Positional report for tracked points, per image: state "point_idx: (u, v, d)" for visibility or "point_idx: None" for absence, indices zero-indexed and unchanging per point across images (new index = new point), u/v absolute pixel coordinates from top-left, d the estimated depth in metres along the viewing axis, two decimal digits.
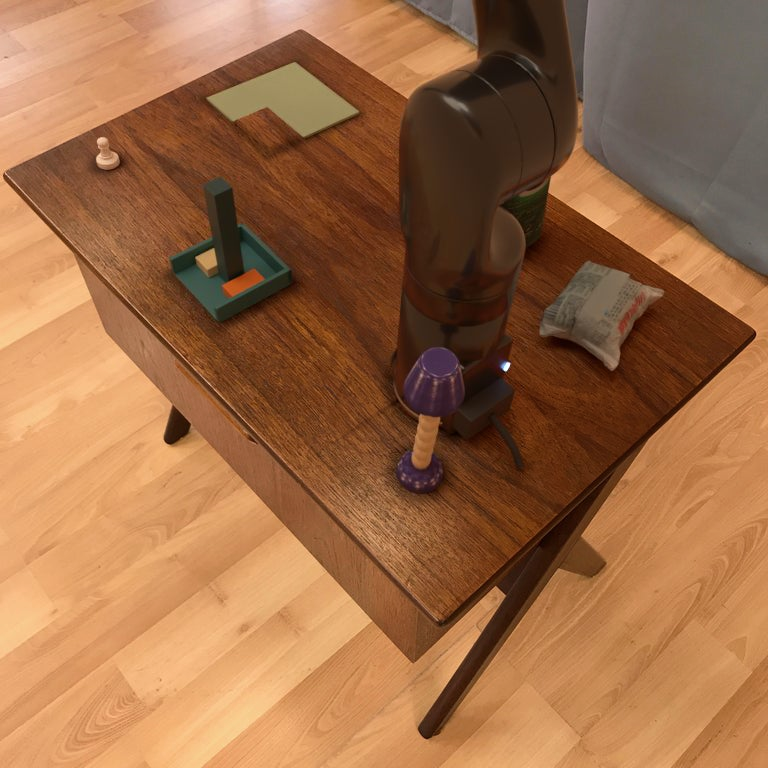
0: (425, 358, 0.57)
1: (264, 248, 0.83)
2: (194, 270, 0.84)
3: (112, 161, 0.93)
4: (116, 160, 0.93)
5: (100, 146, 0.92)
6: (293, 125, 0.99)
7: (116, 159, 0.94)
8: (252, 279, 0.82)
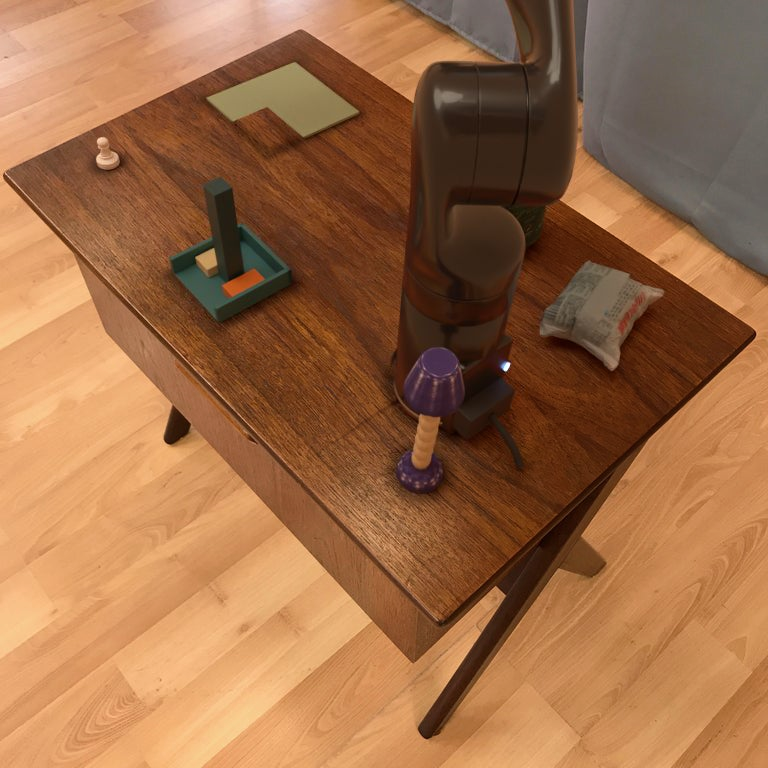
0: (425, 358, 0.57)
1: (264, 248, 0.83)
2: (194, 270, 0.84)
3: (112, 161, 0.93)
4: (116, 160, 0.93)
5: (100, 146, 0.92)
6: (293, 125, 0.99)
7: (116, 159, 0.94)
8: (252, 279, 0.82)
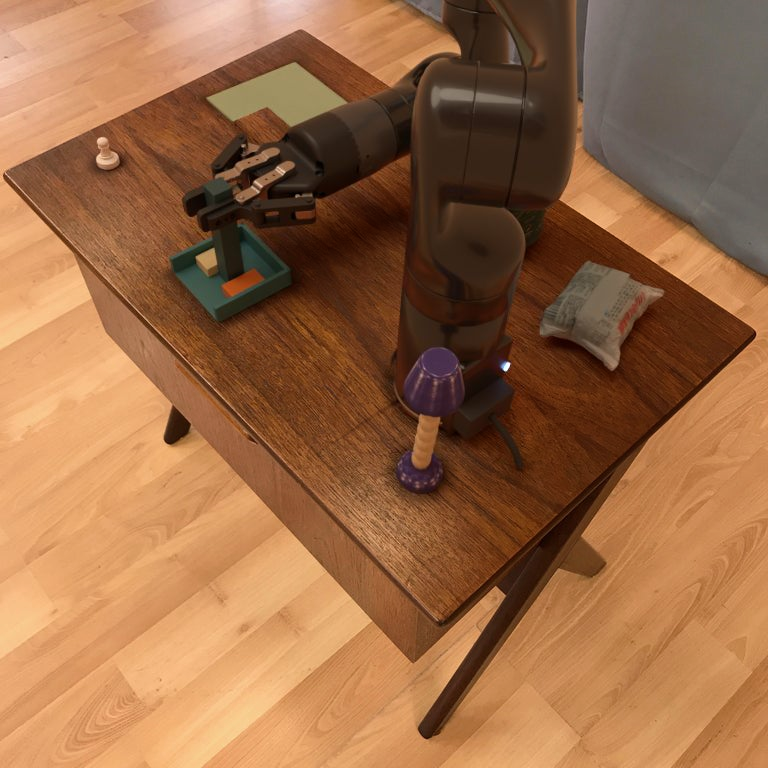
0: (425, 358, 0.57)
1: (264, 248, 0.83)
2: (194, 270, 0.84)
3: (112, 161, 0.93)
4: (116, 160, 0.93)
5: (100, 146, 0.92)
6: (293, 125, 0.99)
7: (116, 159, 0.94)
8: (252, 279, 0.82)
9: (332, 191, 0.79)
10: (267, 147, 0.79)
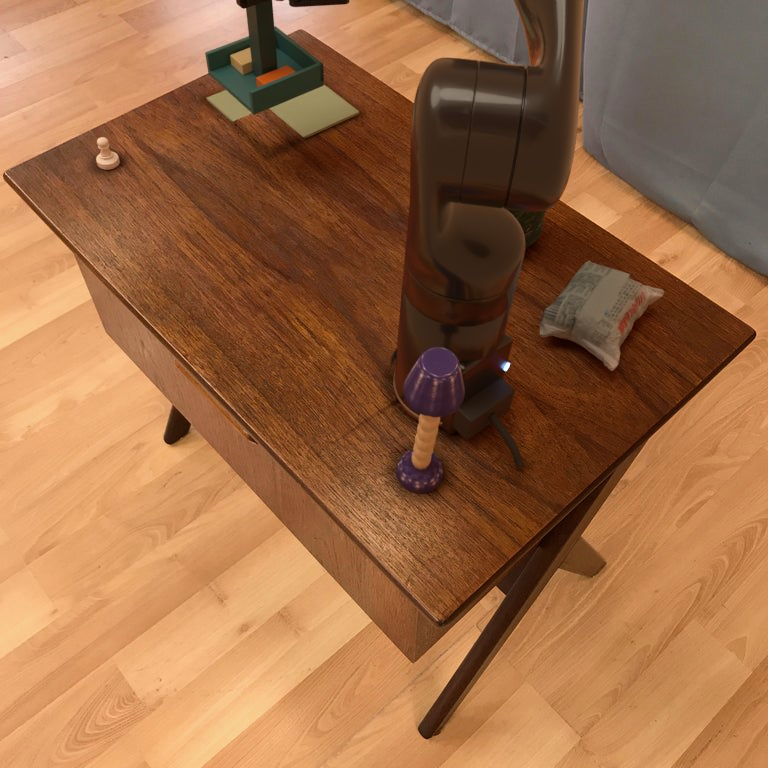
0: (425, 358, 0.57)
1: (297, 47, 0.86)
2: (229, 69, 0.86)
3: (112, 161, 0.93)
4: (116, 160, 0.93)
5: (100, 146, 0.92)
6: (293, 125, 0.99)
7: (116, 159, 0.94)
8: (285, 73, 0.84)
9: None
10: None
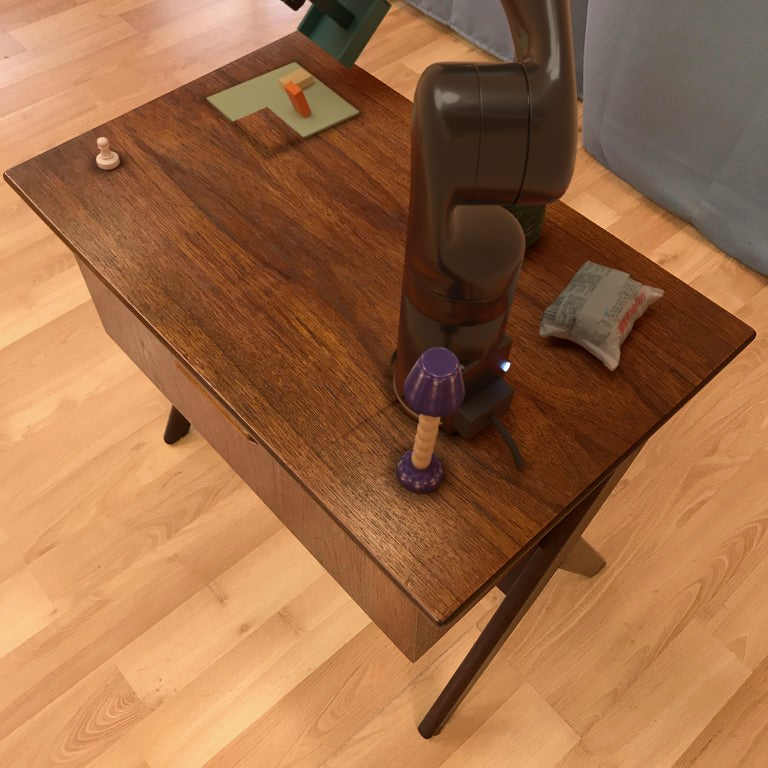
0: (425, 358, 0.57)
1: None
2: (320, 27, 1.02)
3: (112, 161, 0.93)
4: (116, 160, 0.93)
5: (100, 146, 0.92)
6: (293, 125, 0.99)
7: (116, 159, 0.94)
8: (291, 97, 0.98)
9: None
10: None
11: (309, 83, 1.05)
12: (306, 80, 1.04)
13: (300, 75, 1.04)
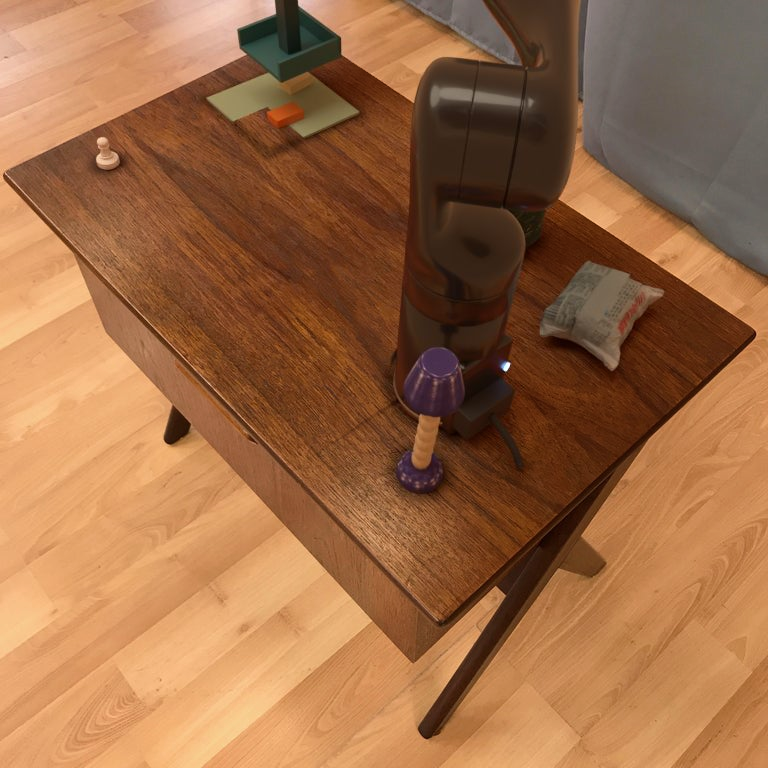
0: (425, 358, 0.57)
1: (317, 23, 0.97)
2: (258, 43, 0.98)
3: (112, 161, 0.93)
4: (116, 160, 0.93)
5: (100, 146, 0.92)
6: (293, 125, 0.99)
7: (116, 159, 0.94)
8: None
9: None
10: None
11: (309, 83, 1.05)
12: (306, 80, 1.04)
13: (300, 75, 1.04)
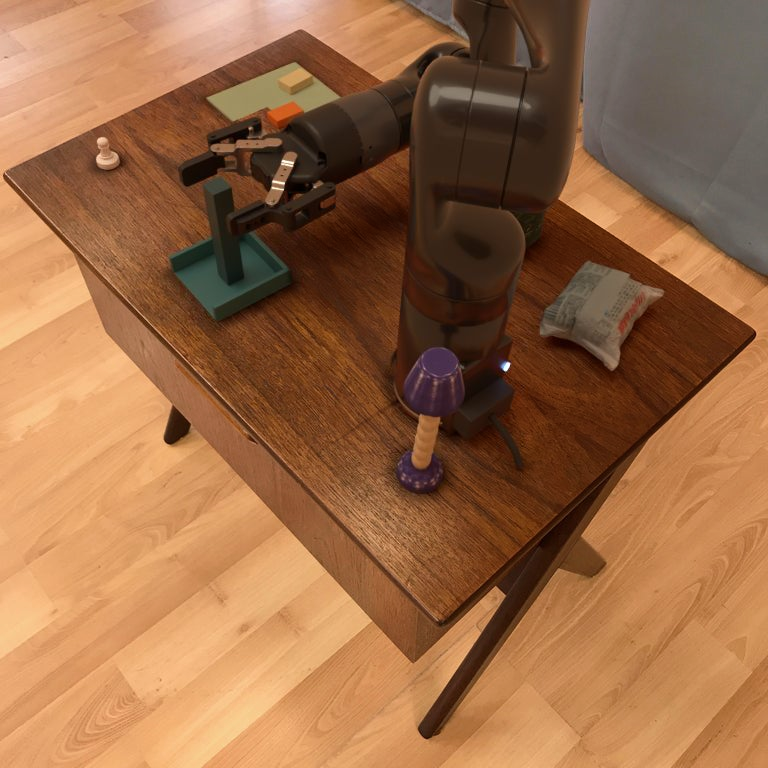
0: (425, 358, 0.57)
1: (264, 248, 0.83)
2: (194, 269, 0.84)
3: (112, 161, 0.93)
4: (116, 160, 0.93)
5: (100, 146, 0.92)
6: None
7: (116, 159, 0.94)
8: None
9: (335, 182, 0.79)
10: None
11: (309, 83, 1.05)
12: (306, 80, 1.04)
13: (300, 75, 1.04)
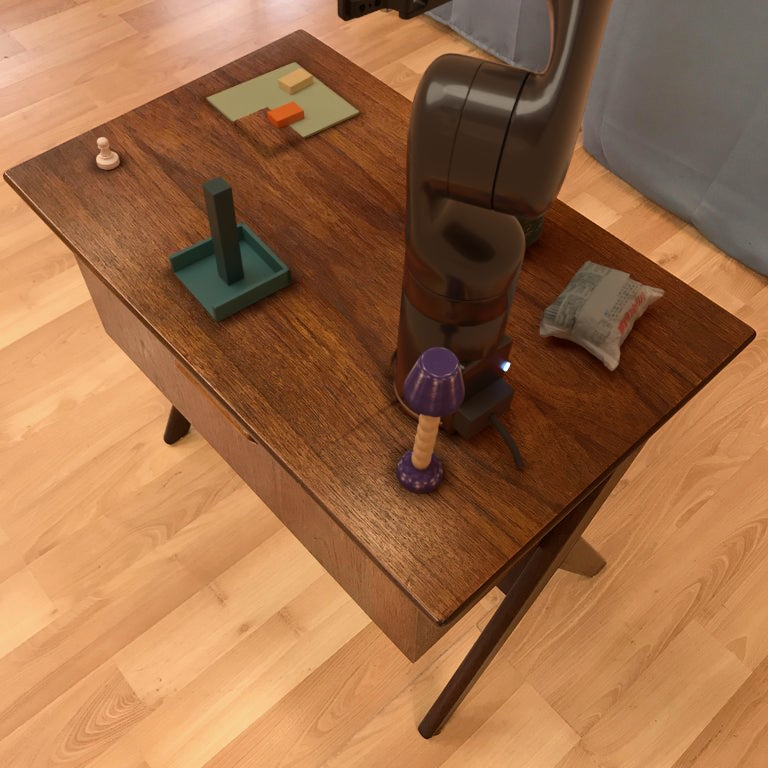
0: (425, 358, 0.57)
1: (264, 248, 0.83)
2: (194, 269, 0.84)
3: (112, 161, 0.93)
4: (116, 160, 0.93)
5: (100, 146, 0.92)
6: (293, 125, 0.99)
7: (116, 159, 0.94)
8: None
9: None
10: None
11: (309, 83, 1.05)
12: (306, 80, 1.04)
13: (300, 75, 1.04)
